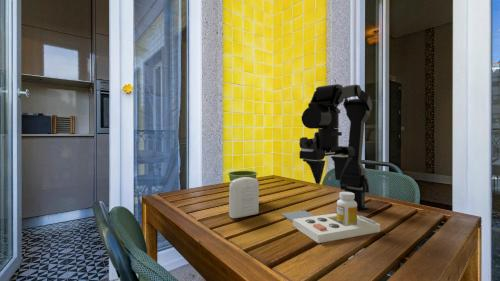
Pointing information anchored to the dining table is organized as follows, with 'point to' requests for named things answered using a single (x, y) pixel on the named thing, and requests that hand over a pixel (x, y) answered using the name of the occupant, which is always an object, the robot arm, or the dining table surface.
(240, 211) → the white rounded slab
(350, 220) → the supplement bottle
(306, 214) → the slate mat
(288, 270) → the dining table surface
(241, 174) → the plant pot
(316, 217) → the socket board
